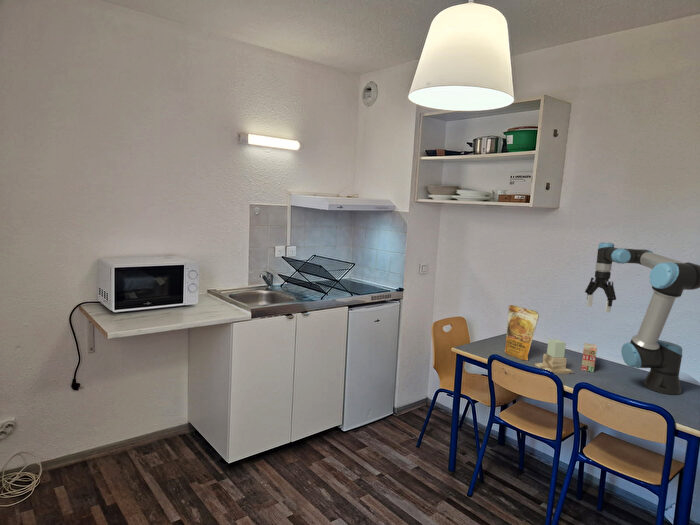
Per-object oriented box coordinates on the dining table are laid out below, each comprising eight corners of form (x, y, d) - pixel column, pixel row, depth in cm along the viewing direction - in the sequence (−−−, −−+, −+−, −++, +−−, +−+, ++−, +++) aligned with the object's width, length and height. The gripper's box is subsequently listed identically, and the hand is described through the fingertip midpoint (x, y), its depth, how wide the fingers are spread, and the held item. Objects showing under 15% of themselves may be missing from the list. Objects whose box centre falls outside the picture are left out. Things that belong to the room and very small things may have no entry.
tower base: (573, 373, 247) (574, 359, 246) (551, 374, 244) (553, 360, 243) (555, 364, 260) (557, 351, 259) (534, 365, 257) (536, 351, 256)
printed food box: (582, 359, 272) (585, 338, 271) (594, 362, 269) (597, 340, 268) (580, 370, 254) (583, 347, 252) (593, 372, 251) (596, 350, 249)
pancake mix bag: (507, 350, 281) (512, 303, 278) (534, 360, 265) (540, 311, 261) (499, 351, 278) (504, 304, 274) (526, 362, 261) (532, 312, 258)
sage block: (564, 357, 249) (565, 342, 248) (554, 357, 247) (555, 342, 246) (556, 353, 255) (558, 339, 254) (546, 354, 253) (548, 339, 252)
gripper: (627, 274, 250) (621, 314, 252) (592, 267, 274) (587, 304, 276) (615, 274, 248) (609, 314, 250) (581, 267, 272) (576, 304, 274)
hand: (598, 309), depth 263 cm, fingers open, 13 cm apart
